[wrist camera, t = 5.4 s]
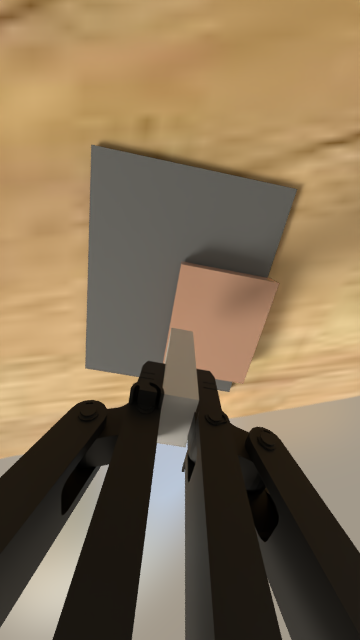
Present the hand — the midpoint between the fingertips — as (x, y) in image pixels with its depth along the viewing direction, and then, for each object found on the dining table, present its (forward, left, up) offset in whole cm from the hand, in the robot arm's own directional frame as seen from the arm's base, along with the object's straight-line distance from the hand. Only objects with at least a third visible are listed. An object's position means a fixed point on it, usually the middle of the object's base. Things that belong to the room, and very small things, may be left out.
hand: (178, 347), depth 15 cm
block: (0, -1, -5) cm, 5 cm away
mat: (-2, -1, -7) cm, 7 cm away
